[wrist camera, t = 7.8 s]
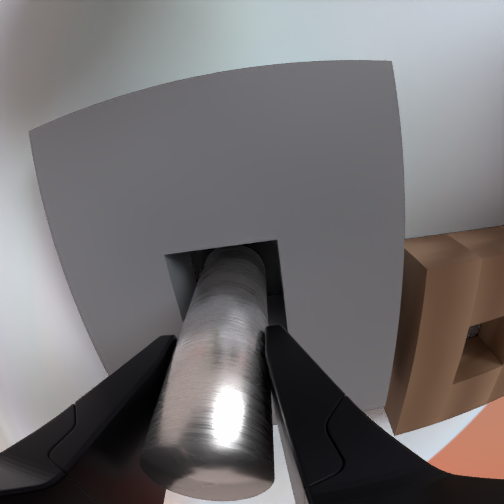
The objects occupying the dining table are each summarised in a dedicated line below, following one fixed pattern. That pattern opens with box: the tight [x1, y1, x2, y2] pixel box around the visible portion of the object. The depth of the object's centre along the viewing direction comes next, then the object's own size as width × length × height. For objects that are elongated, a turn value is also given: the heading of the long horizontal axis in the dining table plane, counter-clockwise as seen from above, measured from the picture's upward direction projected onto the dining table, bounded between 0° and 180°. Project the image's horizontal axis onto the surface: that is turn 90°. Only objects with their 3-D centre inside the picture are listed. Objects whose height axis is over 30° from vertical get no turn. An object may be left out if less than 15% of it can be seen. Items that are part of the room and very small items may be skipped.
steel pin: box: [140, 245, 275, 501], centre depth 8 cm, size 2×2×8 cm
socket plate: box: [29, 60, 405, 425], centre depth 12 cm, size 12×14×3 cm
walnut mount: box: [384, 225, 504, 436], centre depth 13 cm, size 9×10×3 cm
